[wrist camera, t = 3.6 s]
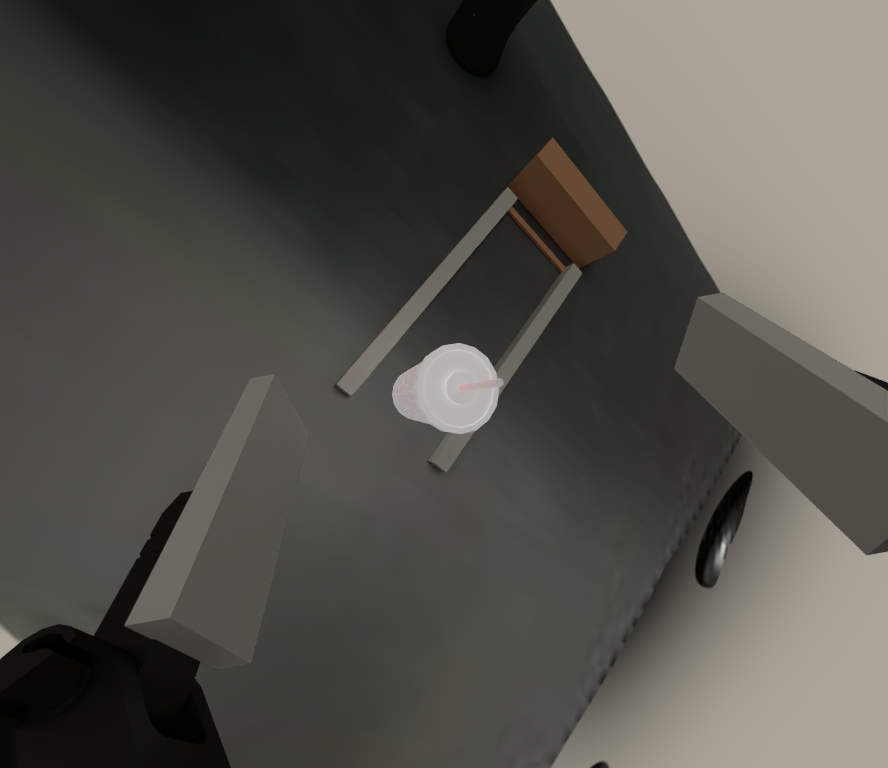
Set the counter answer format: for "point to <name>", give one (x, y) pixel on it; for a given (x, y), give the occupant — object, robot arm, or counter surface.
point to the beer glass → (483, 32)
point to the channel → (568, 223)
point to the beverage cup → (449, 389)
